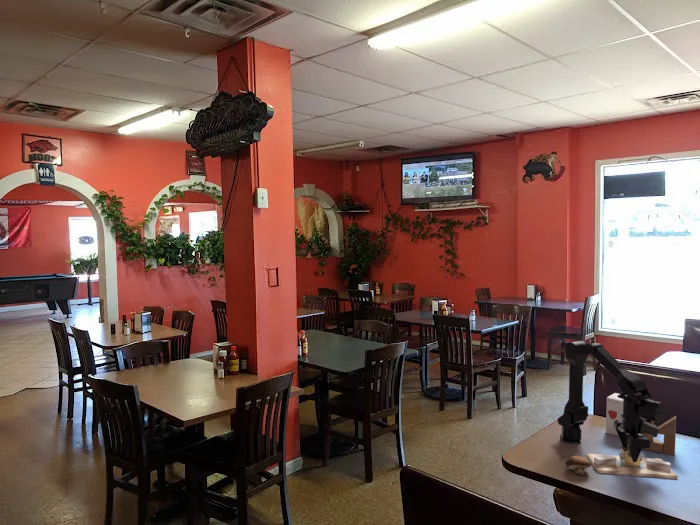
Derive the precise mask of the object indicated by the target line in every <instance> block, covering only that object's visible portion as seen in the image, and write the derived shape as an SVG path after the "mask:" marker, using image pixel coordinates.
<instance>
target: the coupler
mask: <svg viewBox="0 0 700 525" xmlns="http://www.w3.org/2000/svg"><path fill="white" fill-rule="evenodd" d="M618 456H619V458H620V460H621V462H622V463H623V465H624V466H634V467H640V461H642V453H640V455H639V457H638V460H637V462H633V461H632V458H631V455H630V452H629V449H628V447H623V446H621V447H620V452H619V455H618Z"/></svg>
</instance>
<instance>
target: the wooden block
mask: <svg viewBox="0 0 700 525" xmlns="http://www.w3.org/2000/svg"><path fill="white" fill-rule="evenodd" d="M642 419H644V418H642ZM652 423H653V424H654V425H655V422H653V421H652ZM657 427H658V428H659V429H660V431H659V433H658V435H661V436H662V435H663V442H662V441H660V440H658V439H655V438H654V437H653V436H652V435H649V434H647V433H645V432H644V434H642V435H643V436H645V437H646V438H647V439H648V440H649V441H650V442H651V448H644V449H643V450H645V451H650V452H655V453H660V454H664V455H667V456H668V455H669V456H673V457H674V456H675V454H676V431H677V430H676V429H677V416H676V415H675V416H672V417H671V418H670V419H667V421H665V422H662V423H661V424H660V425H659V426H657Z"/></svg>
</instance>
